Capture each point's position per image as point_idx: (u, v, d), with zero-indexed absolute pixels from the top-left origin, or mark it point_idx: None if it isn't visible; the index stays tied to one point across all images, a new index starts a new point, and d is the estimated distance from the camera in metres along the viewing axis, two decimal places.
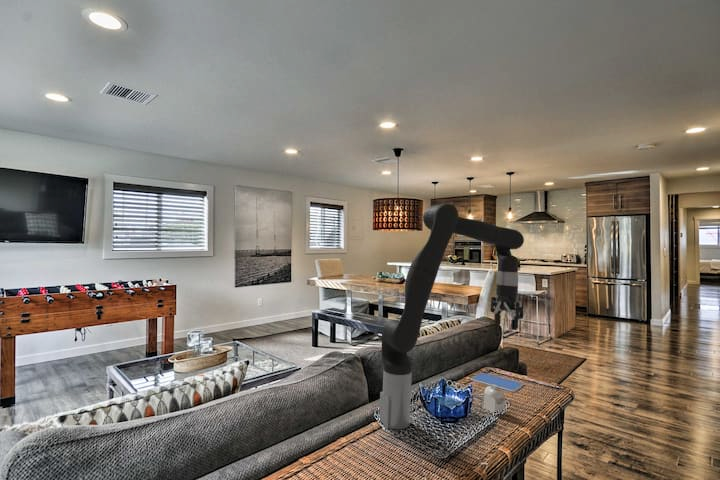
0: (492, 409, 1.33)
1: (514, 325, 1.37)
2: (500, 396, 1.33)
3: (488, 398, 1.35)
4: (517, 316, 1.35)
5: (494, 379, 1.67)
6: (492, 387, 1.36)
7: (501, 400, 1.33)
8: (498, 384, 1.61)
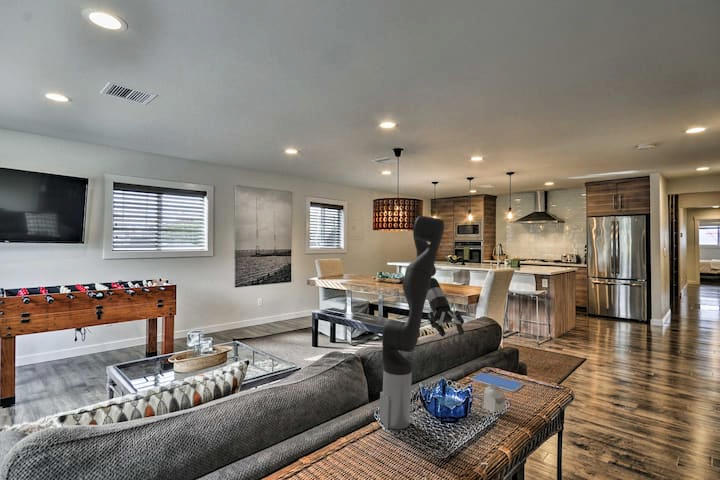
0: (492, 409, 1.33)
1: (462, 329, 1.50)
2: (500, 396, 1.33)
3: (488, 398, 1.35)
4: (463, 320, 1.53)
5: (494, 379, 1.67)
6: (492, 387, 1.36)
7: (501, 400, 1.33)
8: (498, 384, 1.61)
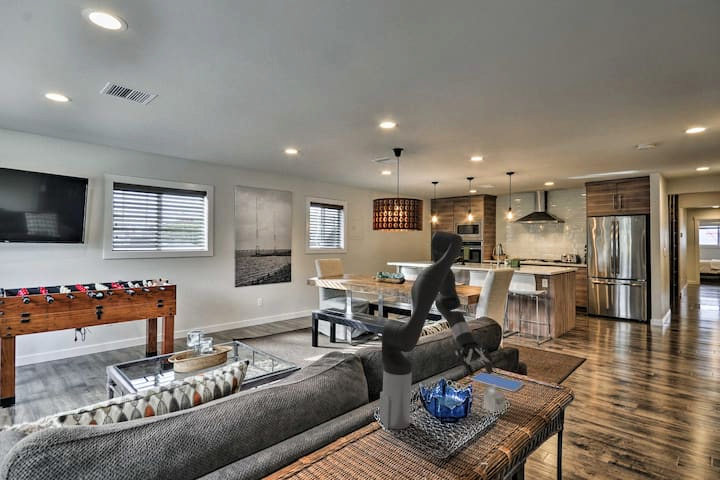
0: (492, 409, 1.33)
1: (491, 367, 1.45)
2: (500, 396, 1.33)
3: (488, 398, 1.35)
4: (491, 358, 1.48)
5: (494, 379, 1.67)
6: (492, 387, 1.36)
7: (501, 400, 1.33)
8: (498, 383, 1.62)
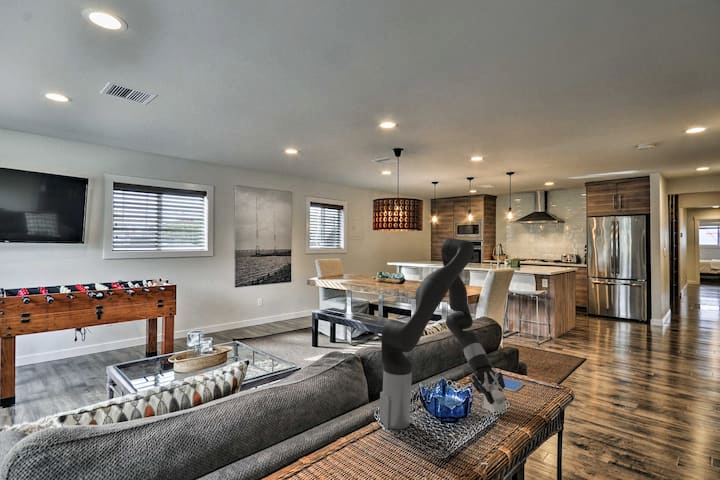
0: (492, 409, 1.33)
1: None
2: (500, 396, 1.33)
3: None
4: (503, 384, 1.39)
5: None
6: (492, 387, 1.36)
7: (502, 400, 1.33)
8: None
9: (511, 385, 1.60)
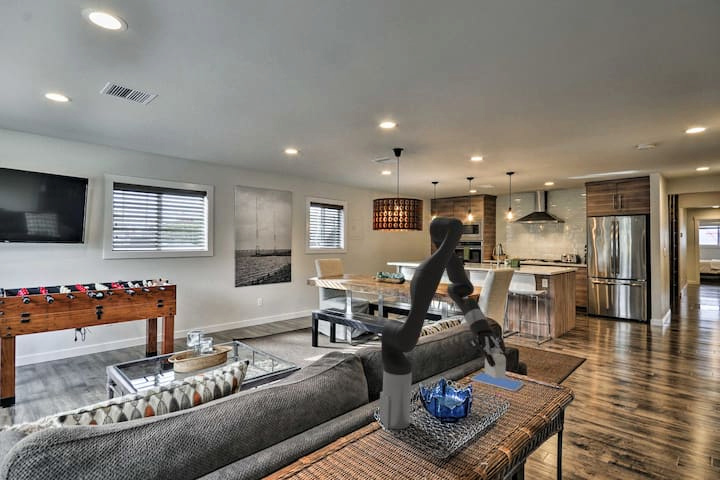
0: (493, 372, 1.34)
1: None
2: (501, 359, 1.33)
3: None
4: (504, 349, 1.39)
5: (494, 379, 1.67)
6: (493, 350, 1.36)
7: (502, 363, 1.34)
8: (498, 383, 1.62)
9: (511, 385, 1.60)
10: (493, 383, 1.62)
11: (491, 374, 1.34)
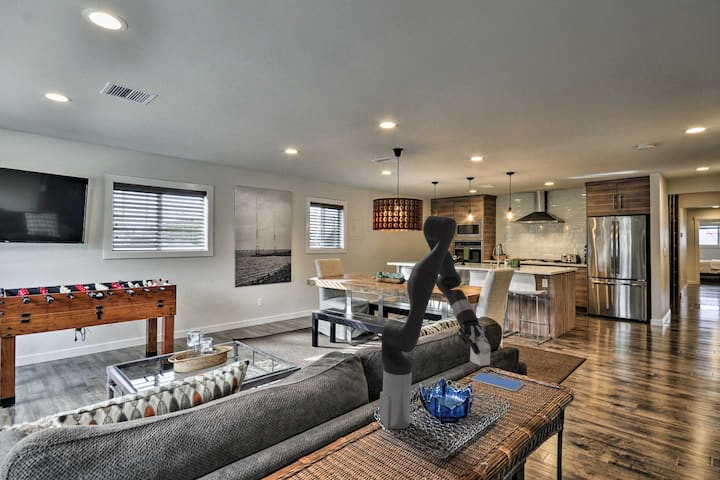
0: (477, 360, 1.38)
1: None
2: (486, 347, 1.38)
3: None
4: (489, 337, 1.43)
5: (494, 379, 1.68)
6: (478, 339, 1.40)
7: (487, 351, 1.38)
8: (498, 383, 1.62)
9: (511, 385, 1.60)
10: (493, 383, 1.62)
11: (476, 362, 1.39)
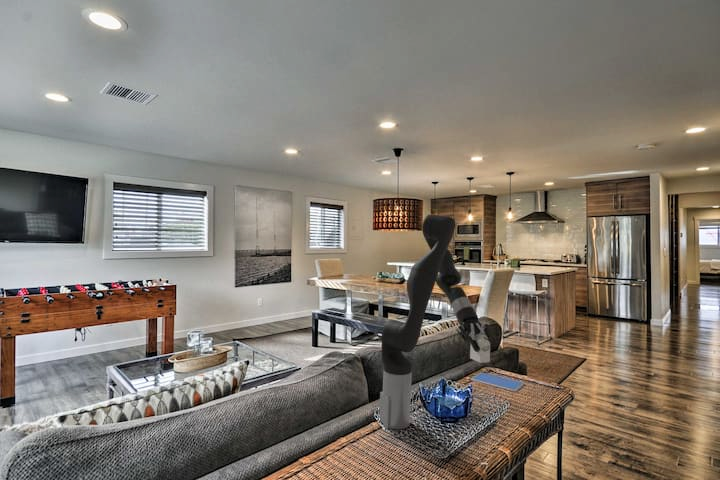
0: (477, 357, 1.38)
1: None
2: (485, 344, 1.38)
3: None
4: (489, 335, 1.43)
5: (494, 379, 1.68)
6: (478, 336, 1.41)
7: (487, 348, 1.38)
8: (499, 383, 1.62)
9: (511, 385, 1.61)
10: (493, 383, 1.62)
11: (476, 359, 1.39)
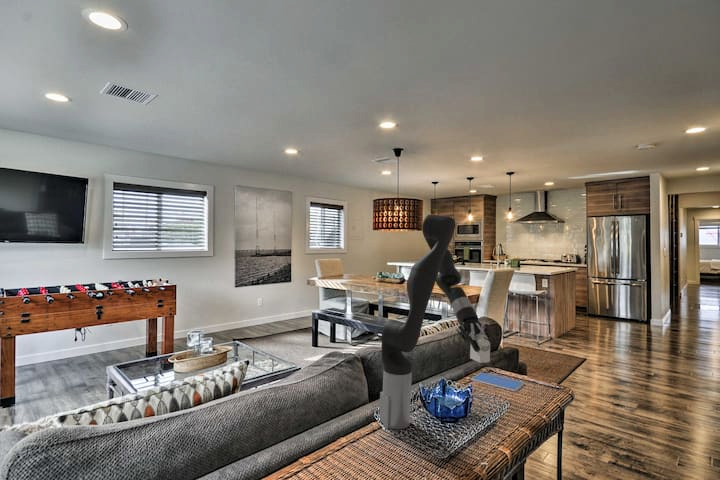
0: (477, 357, 1.38)
1: None
2: (485, 344, 1.38)
3: None
4: (489, 335, 1.43)
5: (494, 379, 1.68)
6: (478, 336, 1.41)
7: (487, 348, 1.38)
8: (499, 383, 1.62)
9: (511, 385, 1.61)
10: (493, 383, 1.62)
11: (476, 359, 1.39)
